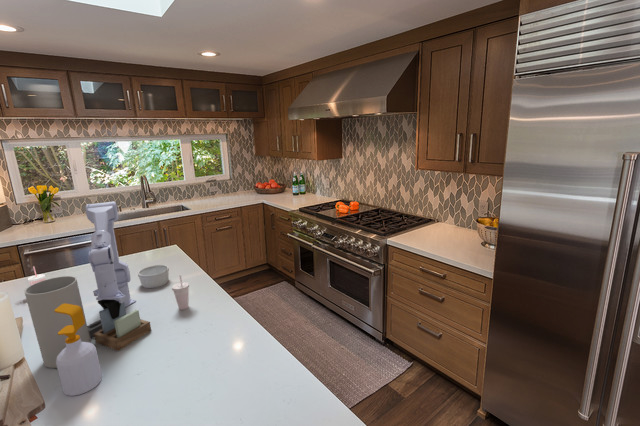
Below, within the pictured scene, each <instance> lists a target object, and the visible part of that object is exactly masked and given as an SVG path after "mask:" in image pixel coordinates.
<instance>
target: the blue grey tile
mask: <svg viewBox="0 0 640 426" xmlns="http://www.w3.org/2000/svg"><path fill="white" fill-rule="evenodd" d="M126 311H127V310H126V307H125V304H124V302H123V303H121V306H120V312H119V317H117V318H115V319H112V317H111V315H110V312H109V310H108V308H106V309H103V310H100V311H99V312H98V313H99V314H98V315H99V320H100V319H101V324H102V329H103V334H105V333H107V332H108V331H110V330H112V329H114V328H115V325H114V321H115V320H117V319H119V318H121V317H123V316H125V315H127V312H126Z"/></svg>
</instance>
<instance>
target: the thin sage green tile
mask: <svg viewBox="0 0 640 426" xmlns="http://www.w3.org/2000/svg"><path fill="white" fill-rule="evenodd" d="M140 316H141V315H140V311H139V309H134V310H132V311H131V312H128V313H126V315H125V316H123V317H121V318H119V319H117V320H115V321H114V325H115V329H116V334H117V339H118V338H120V337H122V336H123V335H125V334H127V333H128V332H130V331H132V330H134V329H135V328H137V327H139V326H140V325H141V321H140V319H141V317H140Z"/></svg>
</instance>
